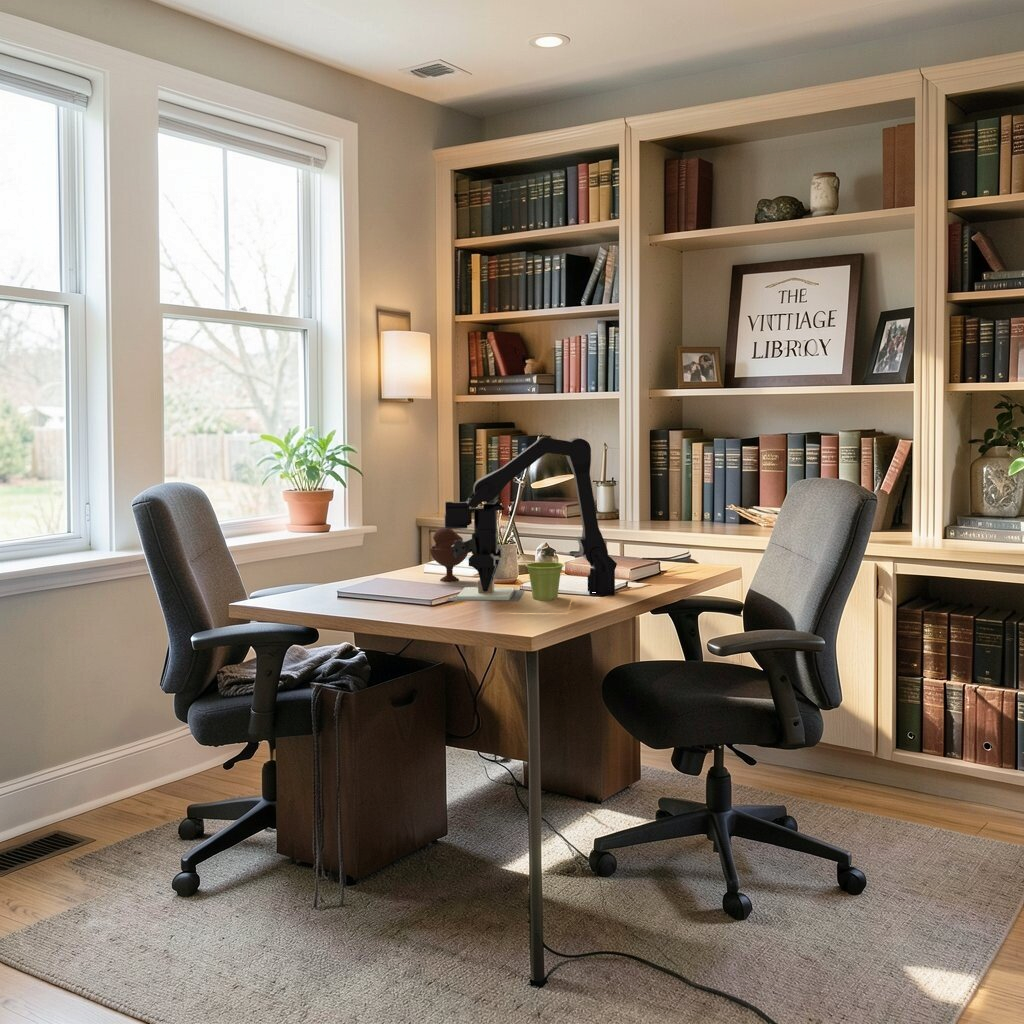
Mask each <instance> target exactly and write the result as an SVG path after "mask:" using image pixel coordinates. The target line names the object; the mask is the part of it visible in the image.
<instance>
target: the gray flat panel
mask: <svg viewBox="0 0 1024 1024" xmlns="http://www.w3.org/2000/svg"><path fill="white" fill-rule="evenodd" d="M525 591H526V590H525V589H515V591H514V593H513V594H512V596H511V598H510V599H509V600H461V599H457V596H456V597H453V598H448V597H447V598H448V599H445V601H447V602H451V601H452V602H516V603H517V602H519V601H520V600H521V598H522V596H523V595H524V593H525Z"/></svg>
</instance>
